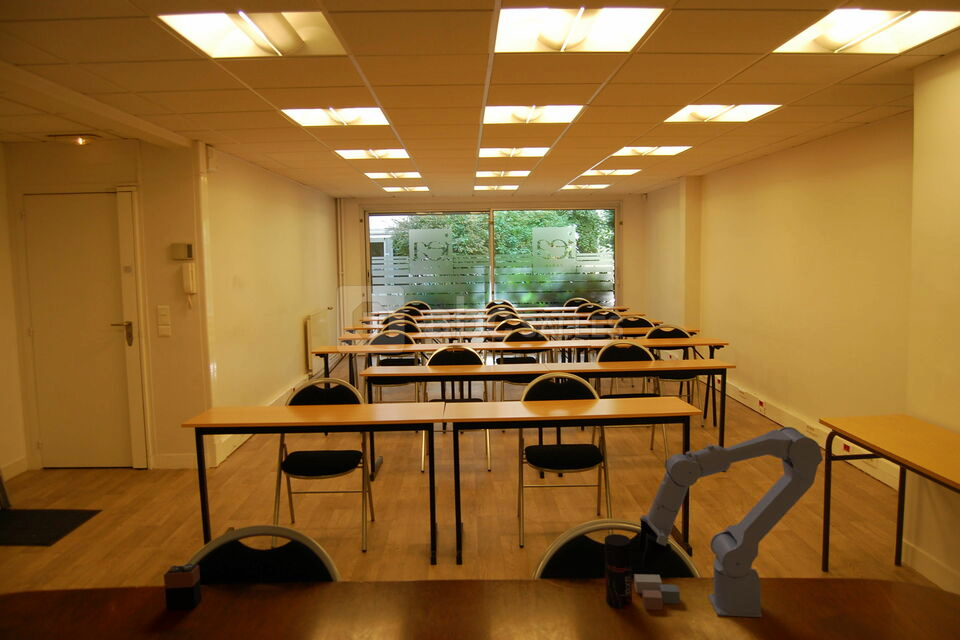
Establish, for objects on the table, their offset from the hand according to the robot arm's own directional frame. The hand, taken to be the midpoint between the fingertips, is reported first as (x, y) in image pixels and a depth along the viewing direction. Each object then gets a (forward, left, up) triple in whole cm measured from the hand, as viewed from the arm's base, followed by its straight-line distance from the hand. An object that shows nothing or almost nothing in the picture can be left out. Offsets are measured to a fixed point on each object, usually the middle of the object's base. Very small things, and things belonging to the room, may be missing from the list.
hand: (644, 558), depth 131 cm
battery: (+111, +9, -11) cm, 112 cm away
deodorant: (+6, -1, -11) cm, 13 cm away
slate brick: (-6, -3, -11) cm, 13 cm away
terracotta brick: (-2, 0, -11) cm, 11 cm away
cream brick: (-2, -7, -11) cm, 13 cm away
